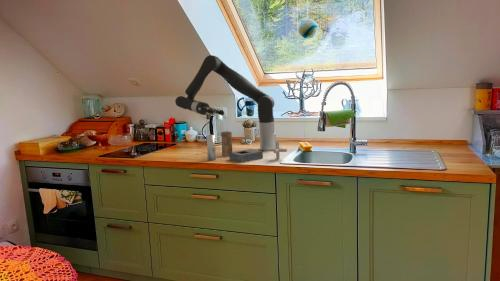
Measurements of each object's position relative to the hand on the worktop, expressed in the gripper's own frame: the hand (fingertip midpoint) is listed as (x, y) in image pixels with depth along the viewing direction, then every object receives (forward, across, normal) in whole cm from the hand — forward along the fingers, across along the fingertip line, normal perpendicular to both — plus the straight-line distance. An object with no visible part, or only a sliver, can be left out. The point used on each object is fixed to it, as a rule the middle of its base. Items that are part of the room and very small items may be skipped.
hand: (218, 113), depth 225 cm
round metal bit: (+12, -9, +25) cm, 29 cm away
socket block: (+26, +3, +20) cm, 33 cm away
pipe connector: (+41, +11, +16) cm, 45 cm away
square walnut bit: (+10, +4, +23) cm, 26 cm away
